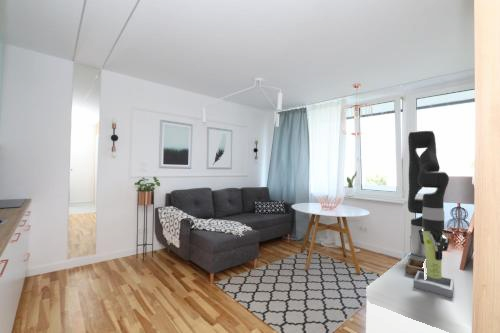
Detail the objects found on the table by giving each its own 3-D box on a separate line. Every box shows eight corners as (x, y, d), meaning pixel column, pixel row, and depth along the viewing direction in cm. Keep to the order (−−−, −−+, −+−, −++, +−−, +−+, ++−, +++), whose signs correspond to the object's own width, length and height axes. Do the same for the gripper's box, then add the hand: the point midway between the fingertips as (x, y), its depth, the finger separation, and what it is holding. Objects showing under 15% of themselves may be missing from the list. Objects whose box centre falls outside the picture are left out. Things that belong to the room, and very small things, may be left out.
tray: (413, 287, 101) (413, 280, 101) (418, 277, 110) (417, 270, 110) (452, 298, 93) (452, 290, 93) (453, 286, 102) (453, 279, 102)
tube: (434, 280, 98) (434, 233, 99) (422, 275, 103) (422, 230, 103) (444, 278, 100) (443, 232, 100) (432, 273, 105) (431, 229, 105)
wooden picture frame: (405, 273, 114) (405, 265, 114) (409, 265, 123) (409, 258, 123) (437, 281, 106) (437, 272, 106) (439, 272, 115) (439, 264, 115)
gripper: (456, 221, 95) (457, 264, 95) (428, 214, 109) (428, 251, 109) (438, 221, 95) (439, 264, 94) (412, 214, 109) (412, 251, 109)
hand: (433, 257), depth 102 cm, fingers closed on tube, 4 cm apart
